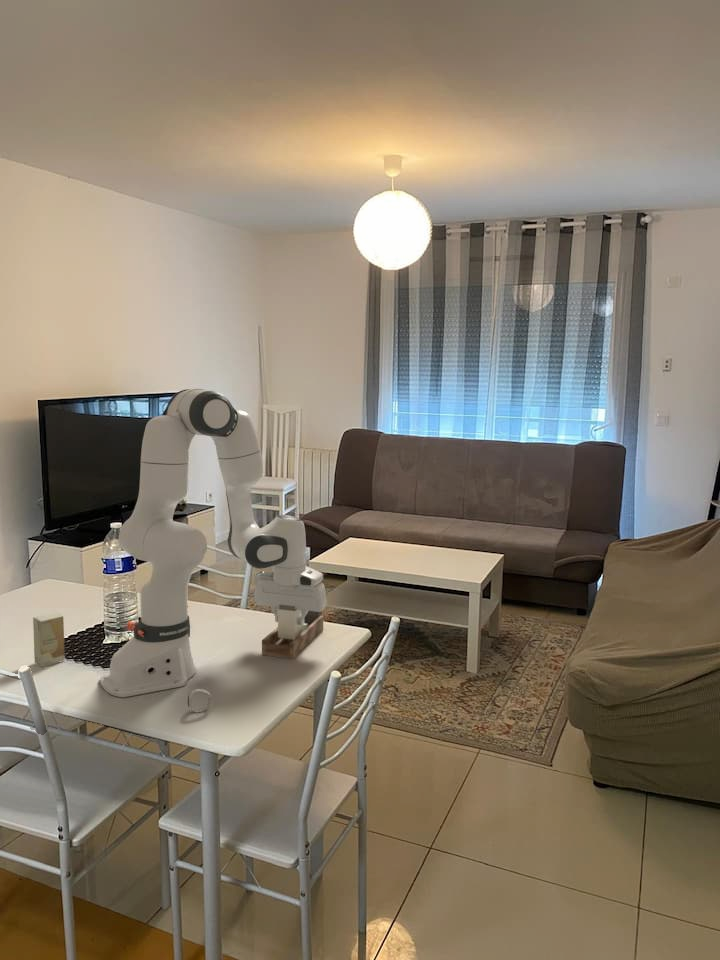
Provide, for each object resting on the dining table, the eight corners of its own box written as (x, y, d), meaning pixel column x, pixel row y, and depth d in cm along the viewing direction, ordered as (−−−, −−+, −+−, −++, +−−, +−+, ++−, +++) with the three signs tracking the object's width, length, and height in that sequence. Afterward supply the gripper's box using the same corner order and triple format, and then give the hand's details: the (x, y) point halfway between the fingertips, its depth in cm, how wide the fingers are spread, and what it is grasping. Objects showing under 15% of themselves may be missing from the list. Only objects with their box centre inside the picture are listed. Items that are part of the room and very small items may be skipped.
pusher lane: (293, 659, 188) (293, 637, 187) (261, 654, 190) (261, 633, 189) (323, 629, 209) (323, 609, 209) (294, 625, 212) (294, 605, 211)
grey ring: (187, 709, 160) (187, 688, 159) (210, 706, 161) (210, 685, 160) (188, 715, 157) (188, 694, 156) (211, 712, 158) (211, 691, 158)
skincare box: (41, 668, 180) (38, 621, 178) (34, 663, 183) (31, 617, 181) (66, 660, 185) (64, 615, 183) (58, 656, 188) (56, 611, 186)
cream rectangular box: (295, 639, 194) (295, 607, 192) (277, 637, 195) (277, 605, 194) (301, 633, 199) (301, 601, 197) (285, 631, 200) (284, 599, 198)
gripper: (249, 573, 194) (250, 622, 196) (320, 581, 188) (320, 631, 190) (259, 567, 200) (259, 614, 202) (328, 574, 194) (328, 623, 196)
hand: (289, 622), depth 196 cm, fingers closed on cream rectangular box, 5 cm apart
